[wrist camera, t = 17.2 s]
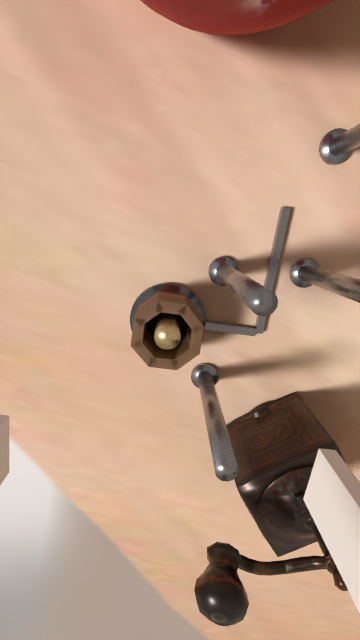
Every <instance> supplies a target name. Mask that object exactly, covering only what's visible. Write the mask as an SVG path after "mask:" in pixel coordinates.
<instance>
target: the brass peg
mask: <svg viewBox="0 0 360 640" xmlns="http://www.w3.org/2000/svg"><path fill="white" fill-rule="evenodd" d="M159 290H160V291H168V292H175V293H183V294H185V295H186V297H187V298H188V299H189V301H190V302H191V303H192V305H193V306H194V307H195V309H196V310H197V311H198V312H199V314H200V317H201V320H202V323H203V326H204V327H205V313H204V309H203V307H202V304H201V302H200V301H199V299H198V298H197V296H196V295H195V294H194V293H193V292H192V291H190V290H189V289H187V288H185V287H183V286H181V285H178V284H174V283H162V284H157V285H154V286H152V287H150V288H148V289H146V290H145V291H144V292H143V293H141V294H140V296H139V297H138V298H137V299H136V301H135V303H134V305H133V307H132V310H131V315H130V325H131V330H133V321H134V316H135V314H136V311H137V309H138V306H139V305H140V304H141V303H143V302H144V301H145V300H147V299H148V298H149V297H151V296H152V295H153V294H155V293H156V292H157V291H159ZM146 327H147V329H148V330H149V331H150V332H151V333H152V335H153V336H154V339H155V342H156V344H157V345H158V346H159V347H160V348H162V349H172V348H174V347H176V346H177V345H178V344H179V342H180V339H181V336H182V335H183V334H185V333H186V332H187V327H188V324H187V322H186V321H185V320H184V319H183V317H182V316H181V315H178V314H171V313H163V312H160V313H159V314H157V315H156V316H154V317H153V318H152V319H150V320H149V321H148V322H147V323H146ZM203 331H204V330H203Z"/></svg>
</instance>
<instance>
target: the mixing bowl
mask: <svg viewBox="0 0 360 640" xmlns="http://www.w3.org/2000/svg"><path fill="white" fill-rule="evenodd" d="M141 1H142V2H143V3H144V4H145V5H147V6H148V7H149V8H151V9H152V10H153V11H155V12H156V13H158V14H160V15H162V16H164V17H165V18H167V19H169V20H171V21H173V22H175V23H177V24H179V25H181V26H183V27H186V28H188V29H191V30H195V31H200V32H204V33H208V34H212V35H244V34H251V33H257V32H261V31H265V30H268V29H272V28H275V27H279V26H282V25H284V24H287V23H290V22H292V21H295V20H297V19H299V18H301V17H303V16H305V15H307V14H309V13H311V12H313V11H315V10H317V9H319V8H321V7H323V6H324V5H326V4H328V3H330V2H331V1H333V0H141Z"/></svg>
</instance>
